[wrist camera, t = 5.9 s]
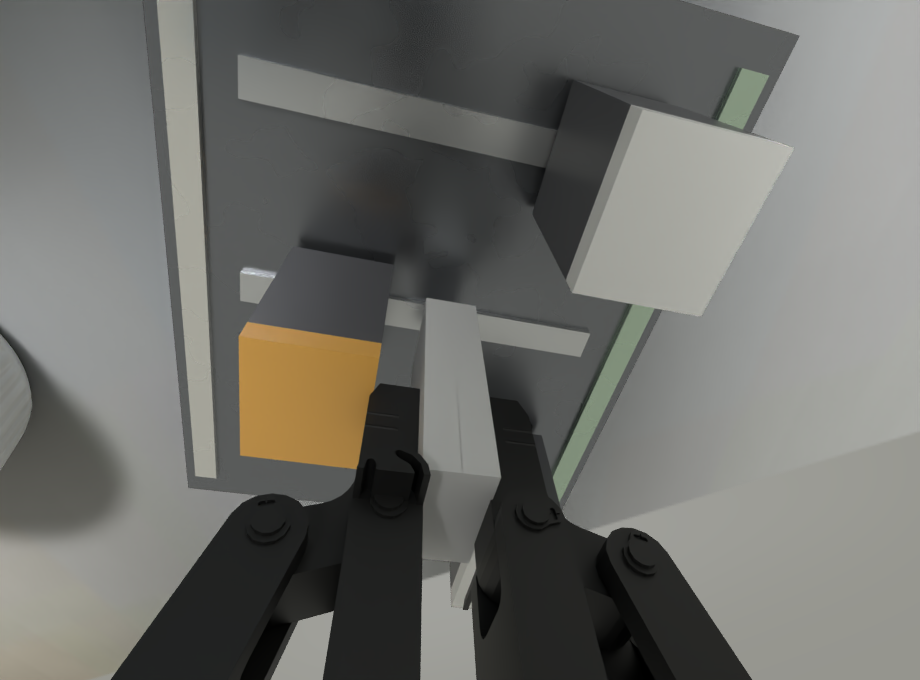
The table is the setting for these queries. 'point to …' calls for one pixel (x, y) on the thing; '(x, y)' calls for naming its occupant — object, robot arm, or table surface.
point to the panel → (410, 185)
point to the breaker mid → (312, 359)
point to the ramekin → (12, 400)
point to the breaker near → (650, 198)
